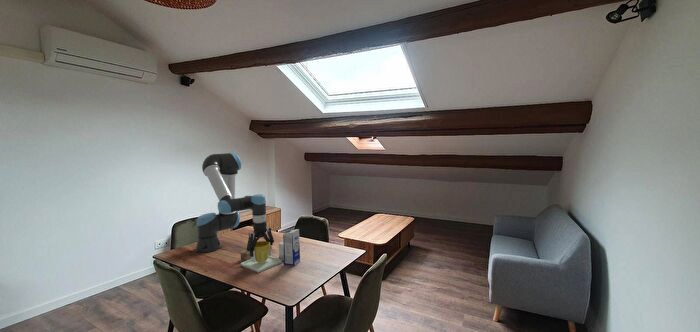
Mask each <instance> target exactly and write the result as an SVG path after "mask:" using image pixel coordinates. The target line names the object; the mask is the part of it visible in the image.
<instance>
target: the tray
mask: <svg viewBox="0 0 700 332" xmlns="http://www.w3.org/2000/svg"><path fill="white" fill-rule="evenodd" d="M282 263H283V260H281V259H279V257H274V256H272V255H271V256H268V259H267V260H266V261H264V262H256V260H255V263H254V262H251V259H250V260H247V261H241V262H240V266H241V267H242V268H246V269H248V270H250V271H253V272H255V273H258V274H259V273H261V272H264V271H267V270H268V269H271V268H273V267H275V266H277V265H279V264H282Z"/></svg>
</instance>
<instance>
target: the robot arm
mask: <svg viewBox="0 0 700 332" xmlns="http://www.w3.org/2000/svg"><path fill="white" fill-rule="evenodd" d="M201 167H202V173H203V175H204V176H205V177H207V179H208V181H209V183H210V185H211V187H212V188H213V191H214V193H215V195H216V196H217V198H218V199H217V200H218V202H217V210H218V214H216V213H215V212H208V213H204V214H202V215H200V216H198V217H197V219H196V226H197V227H196V228H197V240H196V241H197V243H196V246H195V252H196V253H204V254H205V253H211V252H214V251H217V250H219V249H221V248H222V246H221V245H222V244H221V241H220V240H219V237H218V232H220V231H221V232H222V231H226V230H233V229H235V228H237V227H238V226H239V224H240V221H241V216H240V213H239V212H241V211H243V212H244V211H247V210H248V211H249V210H251V214H252V228H253V232H248V240H247V246H246V250H247V251H249V252H250V257H251V262H254V263H255V251H254V248H255V246H256V243H257V242H258V241H259V239H260V238H263V240H264V241H267V242H270V249H269V253H268V256H272V248H273V247H272V246H273V245H274V243H275V239H274V237H273V234H272V228H271V227H267V226H268V225H267V209H266V208H267V204H266V203H267V201H266V196H265V194H263V193H262V194H260V193H258V194H253V195H245V196H243V197H237V198H235V197H236V196H235V195H236V176H237V175H238V172H239V171H240V170H241V169H242V161H241V157H240V156H239V155H238V154H237V153H236V152H235V153H231V152H227V153H213V154H210V155H208V156H207V157H206V158H204V160H203V162H202V166H201Z"/></svg>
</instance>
